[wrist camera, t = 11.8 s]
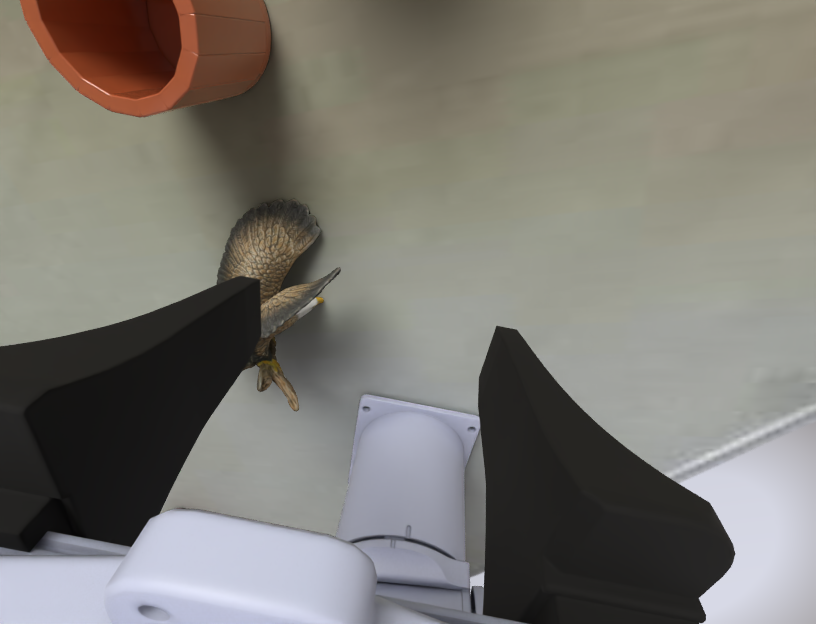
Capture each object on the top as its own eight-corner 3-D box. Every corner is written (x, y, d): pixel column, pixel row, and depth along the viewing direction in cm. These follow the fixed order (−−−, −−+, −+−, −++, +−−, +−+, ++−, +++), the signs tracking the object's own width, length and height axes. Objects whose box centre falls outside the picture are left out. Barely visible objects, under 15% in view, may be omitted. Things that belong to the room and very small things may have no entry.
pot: (272, 108, 19) (205, 130, 14) (154, 85, 19) (45, 99, 14) (271, -45, 16) (187, -86, 11) (132, -73, 16) (-15, -126, 11)
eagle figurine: (352, 375, 26) (386, 259, 19) (245, 447, 21) (246, 325, 15) (274, 298, 28) (283, 176, 22) (164, 347, 24) (136, 209, 17)
